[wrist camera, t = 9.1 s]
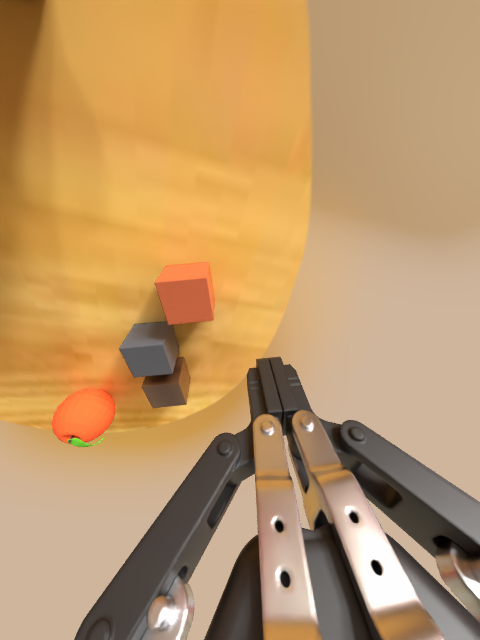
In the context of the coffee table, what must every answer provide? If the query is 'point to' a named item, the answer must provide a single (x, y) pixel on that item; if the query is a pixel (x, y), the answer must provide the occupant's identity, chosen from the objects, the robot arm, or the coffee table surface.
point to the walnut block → (168, 386)
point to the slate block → (150, 349)
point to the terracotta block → (186, 293)
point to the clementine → (83, 416)
